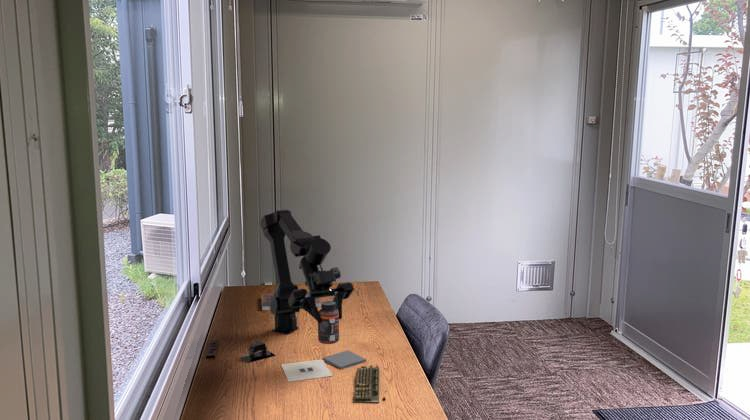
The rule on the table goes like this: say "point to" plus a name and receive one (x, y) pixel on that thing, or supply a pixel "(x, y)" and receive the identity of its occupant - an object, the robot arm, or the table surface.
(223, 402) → the table surface
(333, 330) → the supplement bottle
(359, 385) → the keyboard
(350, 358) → the slate coaster
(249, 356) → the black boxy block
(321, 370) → the card
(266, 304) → the picture frame
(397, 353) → the table surface
